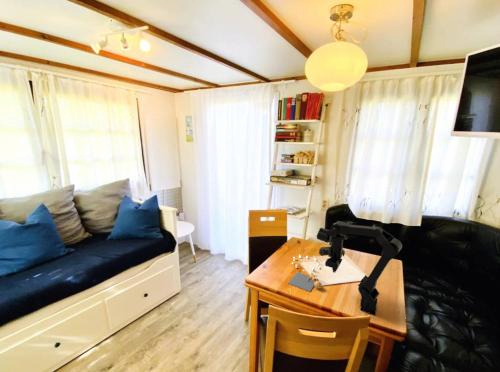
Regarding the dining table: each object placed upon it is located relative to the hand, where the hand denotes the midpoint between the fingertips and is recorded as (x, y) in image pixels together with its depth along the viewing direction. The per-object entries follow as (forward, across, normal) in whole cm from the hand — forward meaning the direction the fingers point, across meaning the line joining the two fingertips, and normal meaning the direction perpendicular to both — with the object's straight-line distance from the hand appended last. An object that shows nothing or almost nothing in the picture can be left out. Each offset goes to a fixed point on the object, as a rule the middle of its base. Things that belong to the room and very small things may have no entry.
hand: (334, 272), depth 125 cm
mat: (+12, 0, -17) cm, 20 cm away
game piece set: (+13, -20, -22) cm, 33 cm away
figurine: (+11, +2, -6) cm, 13 cm away
